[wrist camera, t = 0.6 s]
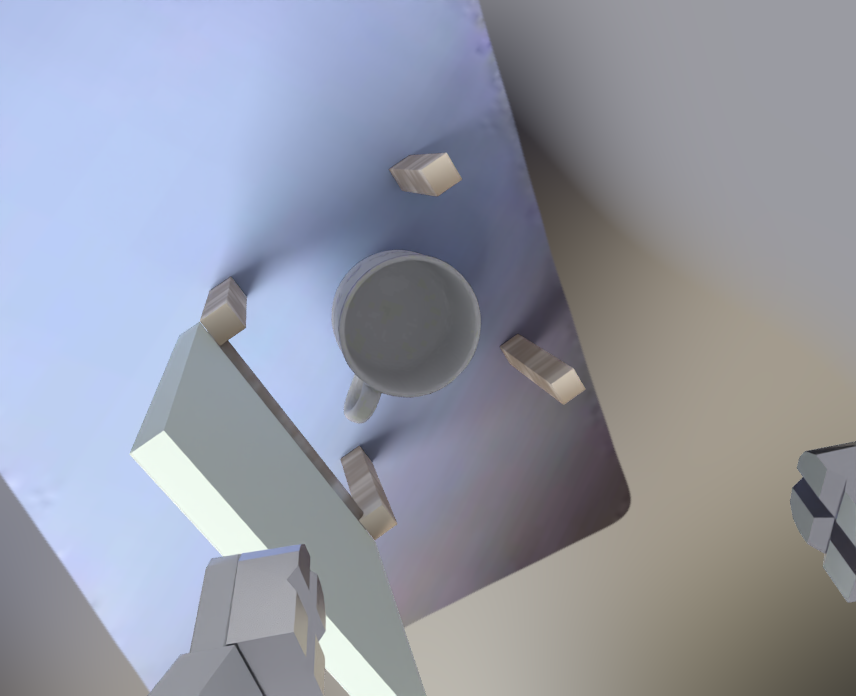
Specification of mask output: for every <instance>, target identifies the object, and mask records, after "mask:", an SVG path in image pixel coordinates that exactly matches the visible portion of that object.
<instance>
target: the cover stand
mask: <svg viewBox="0 0 856 696" xmlns="http://www.w3.org/2000/svg"><path fill="white" fill-rule="evenodd" d="M389 171H390V172H391V174H392V175H393V177H394V179H395V180H396V182H397V183H398V185H399V187H400V188H401V190H402V191H406V192H412V193H418V194H425V195H431V196H439V195H440V194H442V193H443V192H445V191H446V190H448V189H449V188H451V187H452V186H454V185H455V184H456V183H458V182H459V181H461V180H462V178H461V176H460V175H459V173H458V171H457V169H456V168H455V166H454V164H453V163H452V161H451V159H450V158H449V156H448V154H447V153H434V154H420V155H409V156H407V157H406V158H405V159H403V160H402V161H400V162H399V163H397V164H396V165H394V166H393V167H391V168H390V169H389ZM246 304H247V297H246V295H245V294H244V293H243V291H242V290H241V289H240V288H239V286H238V285H237V284H236V282H235V281H234V280H233V278H232V277H229V278H228V279H226V280H225V281H224V282H222V283H221V284H219V285H218V286H216V287H215V288H213V289H212V290H210V291H209V294H208V297H207V300H206V304H205V307H204V310H203V313H202V316H201V319H200V322H201V323H202V324H203V326H204V327H205V328H206V329H207V331H208V333H209V334H210V336H211V337H212V338H213V340H214V341H215V342H216V343H217V345H218V346H219V347H220V348H221V350H222V351H223V352H224V353H225V355H226V356H227V357H228V358H229V360H230V361H231V362H232V363H233V365H234V366H235V367H236V368H237V370H238V371H239V372H240V373H241V375H242V376H243V377H244V378H245V380H246V381H247V382H248V383H249V385H250V386H251V387H252V388H253V390H254V391H255V392H256V393H257V395H258V396H259V397H260V398H261V400H262V401H263V402H264V403H265V405H266V406H267V407H268V408H269V410H270V411H271V412H272V413H273V415H274V416H275V417H276V418H277V420H278V421H279V422H280V423H281V425H282V426H283V427H284V428H285V430H286V431H287V432H288V433H289V435H290V436H291V437H292V438H293V440H294V441H295V442H296V443H297V445H298V446H299V447H300V448H301V450H302V451H303V452H304V453H305V455H306V456H307V457H308V458H309V460H310V461H311V462H312V463H313V465H314V466H315V467H316V468H317V470H318V471H319V472H320V474H321V475H322V476H323V477H324V479H325V480H326V481H327V482H328V484H329V485H330V486H331V487H332V489H333V490H334V491H335V492H336V494H337V495H338V496H339V497H340V499H341V500H342V501H343V502H344V504H345V505H346V506H347V507H348V509H349V510H350V511H351V512H352V514H353V515H354V516H355V517H356V519H357V520H358V521H359V522H360V524H361V525H362V526H363V527H364V529H365V530H367V531H368V532H369V534H370V535H371V536H372V537H373V539H374V540H376V539H377V538H379V537H380V536H381V535H383V534H384V533H386V532H387V531H388V530H390V529H391V528H393V527H394V526H395V525H397V522H396V519H395V517H394V515H393V512H392V510H391V507H390V505H389V502H388V500H387V497H386V495H385V493H384V490H383V488H382V485H381V483H380V480H379V478H378V476H377V473H376V471H375V468H374V466H373V463H372V462H371V460H370V459H369V458H368V456H367V455H366V454H365V452H364V451H363V450H362V448H361V447H360V446H358V447H357V448H355V449H354V450H353V451H351V452H350V453H348V454H347V455H346V456H344V457H343V458H341V463H342V466H343V469H344V472H345V476H346V479H347V482H348V485H349V489H350V492H351V495H352V497H351V496H350V494H349V493H348V492H347V490H346V489H345V488H344V487H343V485H342V484H341V483H340V482H339V480H338V479H337V478H336V477H335V475H334V474H333V473H332V471H331V470H330V469H329V468H328V466H327V465H326V464H325V463H324V461H323V460H322V459H321V458H320V456H319V455H318V454H317V452H316V451H315V450H314V449H313V447H312V446H311V445H310V444H309V442H308V441H307V440H306V439H305V437H304V436H303V435H302V433H301V432H300V431H299V430H298V428H297V427H296V426H295V425H294V423H293V422H292V421H291V420H290V418H289V417H288V416H287V414H286V413H285V412H284V411H283V409H282V408H281V407H280V406H279V404H278V403H277V402H276V401H275V399H274V398H273V397H272V396H271V394H270V393H269V392H268V390H267V389H266V388H265V387H264V385H263V384H262V383H261V382H260V380H259V379H258V378H257V377H256V375H255V374H254V373H253V371H252V370H251V369H250V368H249V366H248V365H247V364H246V363H245V361H244V360H243V359H242V358H241V356H240V355H239V354H238V352H237V351H236V350H235V349H234V347H233V346H232V345H231V344H230V342H229V341H228V340H229V339H230V338H232V337H233V336H235V335H236V334H238V333H239V332H241V331H242V330H244V329H245V328H246ZM500 348H501V350H502V351H503V353H504V355H505V356H506V358H507V359H508V361H509V363H510V364H511V365H512V366H513V367H515V368H516V369H517V370H519V371H520V372H521V373H523V374H524V375H525V376H527V377H528V378H529V379H531V380H532V381H533V382H534V383H536V384H537V385H538V386H540V387H541V388H542V389H544V390H545V391H546V392H548V393H549V394H550V395H552V396H553V397H554V398H555V399H557V400H558V401H559V402H561V403H562V404H563V405H564V404H566V403H567V402H568V401H570V400H571V399H573V398H574V397H575V396H577V395H578V394H580V393H581V392H582V391H584V390H585V388H584V386H583V384H582V382H581V381H580V379H579V377H578V376H577V374H576V372H575V370H574V369H573V368H572V367H570V366H569V365H567V364H565V363H564V362H562V361H561V360H559V359H557V358H556V357H554V356H553V355H551V354H549V353H548V352H546V351H545V350H543V349H542V348H540V347H538V346H537V345H535V344H534V343H532V342H530V341H529V340H527V339H526V338H524V337H522V336H521V335H519V334H517V335H516V336H514V337H513V338H511V339H510V340H508V341H507V342H506V343H504V344H503V345H501V346H500Z"/></svg>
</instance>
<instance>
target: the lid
mask: <svg viewBox="0 0 856 696" xmlns="http://www.w3.org/2000/svg"><path fill="white" fill-rule="evenodd" d="M130 455H131V456H132V458H133V459H134V460H135V461H136V462H137V463H138V464H139V465H140V466H141V467H142V469H143V470H144V471H145V472H146V473H147V474H148V475H149V476H150V477H151V478H152V479H153V481H154V482H155V483H156V484H157V485H158V486H159V487H160V488H161V489H162V490H163V491H164V493H165V494H166V495H167V496H168V497H169V498H170V499H171V500H172V501H173V502H174V503H175V505H176V506H177V507H178V508H179V509H180V510H181V511H182V512H183V513H184V514H185V515H186V517H187V518H188V519H189V520H190V521H191V522H192V523H193V524H194V525H195V526H196V528H197V529H198V530H199V531H200V532H201V533H202V534H203V535H204V536H205V537H206V538H207V540H208V541H209V542H210V543H211V544H212V545H213V546H214V547H215V548H216V549H217V550H218V552H219V553H220V554H221V555H222V556H223V557H224V556H230V555H236V554H242V553H247V552H254V551H260V550H267V549H273V548H279V547H286V546H292V545H299V544H305V546H306V548H307V550H308V552H309V555H310V570H311V571H313V572H314V573H316V574H317V575H318V577H319V580H320V583H321V587H322V591H323V595H324V603H325V612H326V632H325V633H324V635H323V636H322V638H321V639H320V641H319V644H320V646H321V649H322V651H323V653H324V656H325V668H326V670H327V671H328V672H329V673H330V674H331V675H332V676H333V677H334V678H335V679H336V680H337V682H338V683H339V684H340V685H341V686H342V687H343V688H344V689H345V690H346V691H347V693H349V695H350V696H426V693H425V690H424V687H423V684H422V681H421V678H420V675H419V672H418V669H417V666H416V663H415V660H414V657H413V654H412V651H411V648H410V645H409V642H408V639H407V636H406V633H405V630H404V627H403V624H402V621H401V618H400V615H399V612H398V609H397V606H396V603H395V600H394V597H393V594H392V591H391V588H390V585H389V582H388V579H387V576H386V573H385V570H384V567H383V564H382V561H381V558H380V554H379V551H378V548H377V545H376V542H375V541H374V540H373V539H372V537H371V536H370V535H369V534H368V532H367V531H366V530H365V529H364V527H363V526H362V525H361V524H360V522H359V521H358V520H357V519H356V517H355V516H354V515H353V514H352V512H351V511H350V510H349V509H348V507H347V506H346V505H345V504H344V502H343V501H342V500H341V499H340V497H339V496H338V495H337V494H336V492H335V491H334V490H333V489H332V487H331V486H330V485H329V484H328V482H327V481H326V480H325V479H324V477H323V476H322V475H321V474H320V472H319V471H318V470H317V468H316V467H315V466H314V465H313V463H312V462H311V461H310V460H309V458H308V457H307V456H306V455H305V453H304V452H303V451H302V450H301V448H300V447H299V446H298V445H297V443H296V442H295V441H294V440H293V438H292V437H291V436H290V435H289V433H288V432H287V431H286V430H285V428H284V427H283V426H282V425H281V423H280V422H279V421H278V420H277V418H276V417H275V416H274V415H273V413H272V412H271V411H270V410H269V408H268V407H267V406H266V405H265V403H264V402H263V401H262V400H261V398H260V397H259V396H258V395H257V393H256V392H255V391H254V390H253V388H252V387H251V386H250V385H249V383H248V382H247V381H246V380H245V378H244V377H243V376H242V375H241V373H240V372H239V371H238V370H237V368H236V367H235V366H234V365H233V363H232V362H231V361H230V360H229V358H228V357H227V356H226V355H225V353H224V352H223V351H222V350H221V348H220V347H219V346H218V345H217V343H216V342H215V341H214V340H213V338H212V337H211V336H210V334H209V333H208V332H207V331H206V329H205V328H204V327H203V326H202V324H201V323H200V322H199V323H197V324H196V325H194V326H193V327H191V328H190V329H188V330H187V331H185V332H184V333H182V334H181V335H180V336H179V338H178V340H177V342H176V345H175V347H174V349H173V352H172V354H171V357H170V359H169V361H168V364H167V366H166V368H165V371H164V373H163V376H162V378H161V380H160V383H159V385H158V387H157V390H156V392H155V395H154V397H153V399H152V402H151V404H150V406H149V409H148V411H147V414H146V416H145V418H144V421H143V423H142V425H141V428H140V430H139V433H138V435H137V437H136V440H135V442H134V444H133V447H132V449H131V452H130Z"/></svg>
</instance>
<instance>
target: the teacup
mask: <svg viewBox="0 0 856 696" xmlns="http://www.w3.org/2000/svg"><path fill="white" fill-rule="evenodd" d="M332 327H333V331H334V335H335V338H336V341H337V343H338V345H339V347H340V350H341V351H342V353H343V356H344V358H345V360H346V362H347V364H348V365H349V367H350V368H351V370H352V371H353V372H354V373H355V375H354V377H353V380H352V383H351V385H350V388H349V391H348V394H347V397H346V400H345V403H344V415H345V417H346V418H347V419H349V420H350V421H352V422H355V423H364V422H366V421H367V420H368V419H369V418H370V417H371V416H372V414H373V412H374V411H375V409H376V407H377V404H378V402H379V399H380V396H381V393H384V394H387V395H391V396H398V397H418V396H423V395H427V394H431V393H433V392H436V391H438V390H440V389H441V388H443V387H445V386H446V385H448V384H449V383H451V382H452V381H453V380H454V379H455V378H456V377H457V376H458V375H460V374H461V373H462V372H463V370H464V369H465V368H466V366H467V365H468V364H469V362H470V360H471V359H472V357H473V355H474V353H475V350H476V348H477V344H478V341H479V337H480V328H481V315H480V308H479V304H478V301H477V298H476V296H475V294H474V292H473V290H472V288H471V286H470V284H469V283H468V282H467V281H466V280H465V278H464V277H463V276H462V275H461V274H460V273H459V272H458V271H457V270H456V269H455V268H453V267H452V266H450V265H449V264H448V263H446V262H444V261H442V260H439V259H437V258H434V257H431V256H427V255H423V254H420V253H417V252H413V251H407V250H388V251H383V252H379V253H376V254H373V255H371V256H369V257H367V258H365V259H363V260H362V261H360V262H359V263H357V264H356V265H355V266H354V267H353V268H352V269H351V270H350V271H349V272H348V273H347V274H346V275H345V277H344V278H343V279H342V281H341V283H340V284H339V286H338V288H337V291H336V293H335V297H334V300H333V305H332Z"/></svg>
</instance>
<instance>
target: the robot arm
mask: <svg viewBox="0 0 856 696" xmlns="http://www.w3.org/2000/svg"><path fill="white" fill-rule="evenodd" d="M797 469H798V470H799V472H800V473H801V475H802V476H803V478H802V479H801V480H800V481H799V482H798V483H797V484H796V485H794V487H793V488H792V493H791V499H790V504H791V510H792V515H793V519H794V521H795V524H796V526H797V528H798V530H799V532H800V534H801V535H802V537H803V538H804V540H805V541H806V543H807V544H809V545H810V546H812V547H814V548H816V549H817V550H819V551H821V552H823V553H825V555H824V563H823V568H824V569H825V571H826V572H827V573H828V575H829V576H830V578H831V579H832V581H833V582H834V584H835V585H836V586H837V588H838V589H839V591H840V592H841V594H842V595H843V597H844V598H845V599H846V601H847V602H854V601H856V441H855V442H850V443H845V444H839V445H835V446H829V447H824V448H819V449H814V450H809V451H805V452H804V453H803V454H802V455H801V456H800V458H799V462H798V466H797ZM325 632H326V612H325V603H324V595H323V591H322V587H321V583H320V580H319V577H318V575H317V574H316V573H314V572H313V571H311V570H310V555H309V552H308V550H307V548H306V546H305V544H299V545H292V546H286V547H279V548H273V549H267V550H260V551H254V552H247V553H242V554H236V555H230V556H224V557H218V558H212V559H211V560H210V562H209V564H208V566H207V567H206V570H205V575H204V581H203V586H202V591H201V596H200V601H199V606H198V612H197V617H196V622H195V627H194V632H193V637H192V643H191V648H190V653H186V654H181V655H180V656H179V657H178V658H177V659H176V661H175V662H174V663H173V664H172V666H171V667H170V668H169V669H168V671H167V672H166V673H165V674H164V676H163V677H162V678H161V679H160V681H159V682H158V683H157V684H156V686H155V687H154V688H153V689H152V691H151V692H150V693H149V694H148V696H324V681H325V679H324V678H325V656H324V653H323V651H322V649H321V646H320V644H319V641H320V639H321V638H322V636H323V635H324V633H325Z"/></svg>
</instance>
